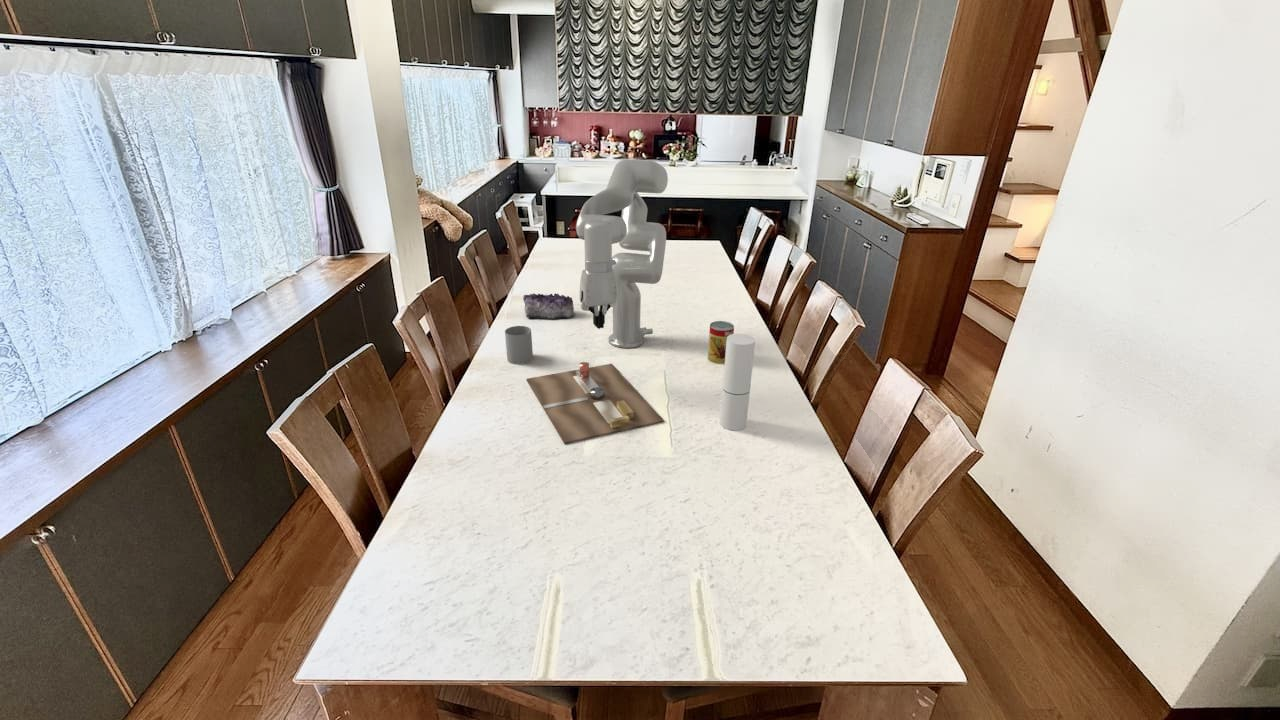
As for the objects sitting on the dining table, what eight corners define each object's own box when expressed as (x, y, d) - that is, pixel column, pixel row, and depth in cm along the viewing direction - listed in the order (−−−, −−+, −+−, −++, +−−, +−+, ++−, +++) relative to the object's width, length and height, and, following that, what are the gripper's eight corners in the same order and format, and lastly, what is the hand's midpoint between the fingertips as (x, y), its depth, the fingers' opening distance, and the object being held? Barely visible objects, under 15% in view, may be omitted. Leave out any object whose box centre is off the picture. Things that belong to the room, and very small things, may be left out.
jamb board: (611, 365, 194) (611, 357, 193) (663, 421, 163) (663, 413, 161) (526, 380, 183) (526, 372, 182) (564, 444, 152) (564, 435, 151)
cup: (527, 365, 193) (525, 336, 188) (503, 362, 194) (500, 334, 190) (536, 354, 200) (534, 327, 196) (513, 352, 202) (511, 324, 197)
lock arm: (606, 397, 172) (606, 381, 170) (593, 400, 171) (593, 383, 169) (586, 373, 186) (586, 357, 184) (574, 375, 185) (573, 359, 183)
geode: (576, 310, 239) (576, 287, 233) (573, 324, 229) (572, 301, 224) (525, 307, 239) (524, 284, 233) (519, 321, 229) (518, 298, 224)
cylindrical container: (748, 419, 164) (757, 335, 154) (743, 432, 158) (752, 346, 148) (722, 414, 166) (729, 331, 156) (717, 427, 160) (724, 342, 150)
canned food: (730, 365, 195) (733, 331, 190) (706, 362, 197) (708, 328, 192) (731, 355, 202) (734, 322, 197) (708, 352, 204) (711, 320, 199)
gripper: (616, 259, 174) (616, 318, 182) (568, 265, 168) (570, 326, 175) (628, 266, 168) (627, 327, 176) (578, 272, 162) (580, 335, 169)
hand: (599, 326), depth 176 cm, fingers closed
